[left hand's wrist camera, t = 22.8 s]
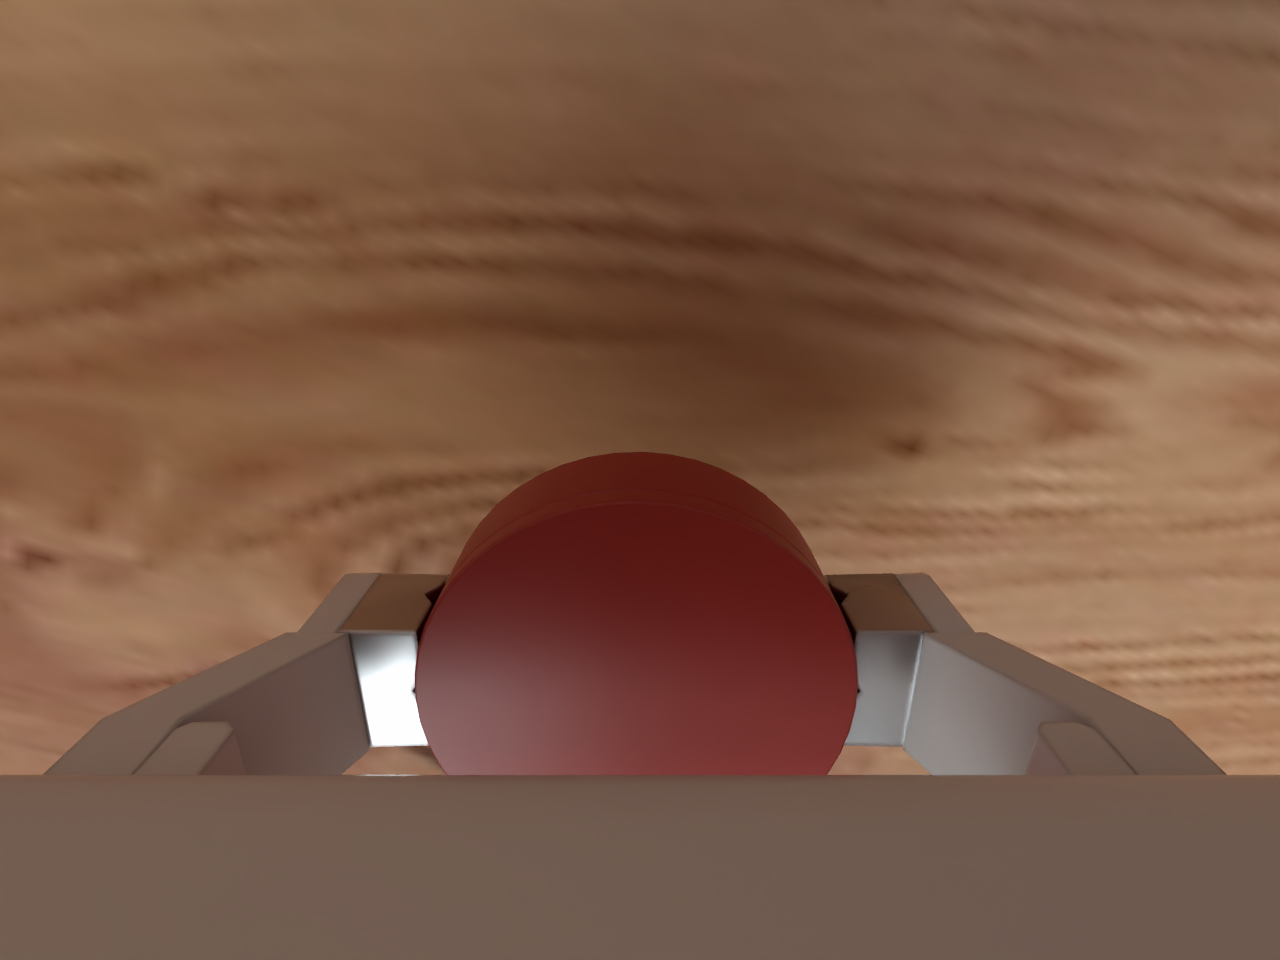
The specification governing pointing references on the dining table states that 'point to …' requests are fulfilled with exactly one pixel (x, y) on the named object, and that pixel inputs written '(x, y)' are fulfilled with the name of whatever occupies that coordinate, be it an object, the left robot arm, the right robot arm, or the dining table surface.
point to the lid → (636, 632)
